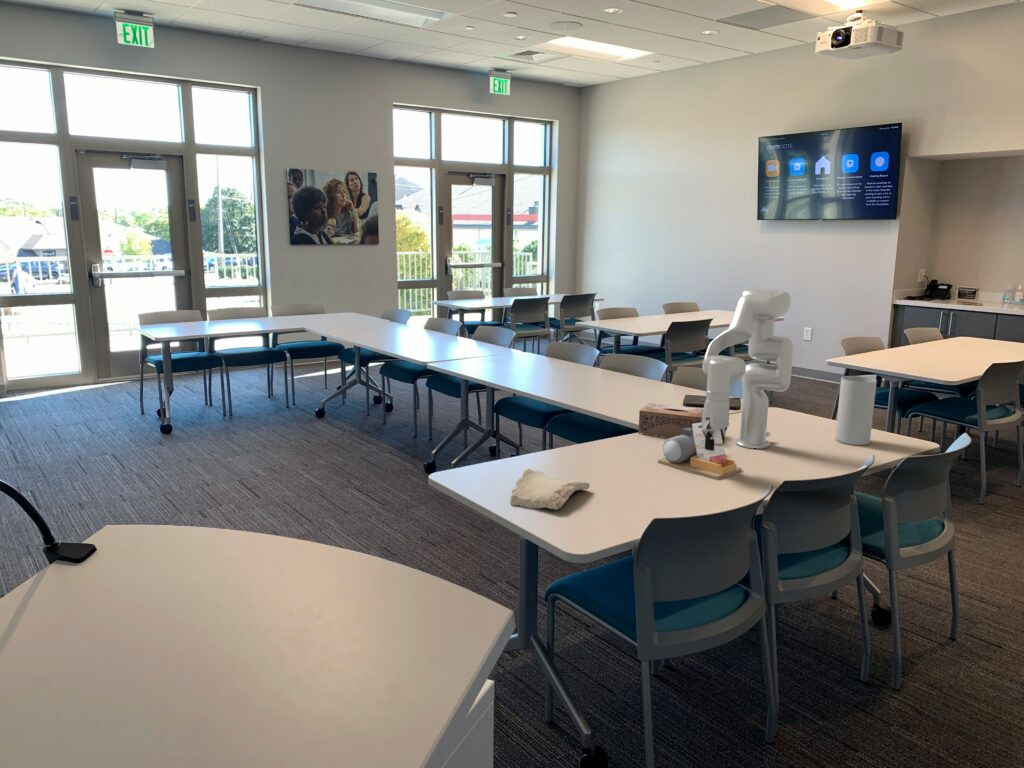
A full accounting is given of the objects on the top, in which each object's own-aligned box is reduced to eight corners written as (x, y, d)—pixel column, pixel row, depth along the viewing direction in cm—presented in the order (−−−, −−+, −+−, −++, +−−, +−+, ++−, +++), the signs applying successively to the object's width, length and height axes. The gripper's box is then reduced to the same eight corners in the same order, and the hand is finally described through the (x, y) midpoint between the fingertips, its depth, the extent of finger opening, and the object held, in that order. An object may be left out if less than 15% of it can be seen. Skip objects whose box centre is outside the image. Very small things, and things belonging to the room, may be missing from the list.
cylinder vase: (861, 437, 303) (868, 376, 298) (875, 446, 291) (882, 382, 286) (830, 436, 303) (836, 375, 298) (842, 445, 291) (849, 381, 286)
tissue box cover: (710, 433, 306) (711, 409, 304) (702, 442, 293) (704, 417, 291) (648, 426, 317) (649, 403, 315) (638, 434, 304) (639, 410, 302)
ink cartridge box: (727, 462, 256) (719, 419, 257) (718, 464, 253) (710, 421, 254) (707, 463, 263) (699, 421, 264) (698, 466, 260) (690, 423, 261)
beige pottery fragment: (499, 506, 226) (560, 513, 216) (498, 482, 225) (558, 487, 215) (536, 485, 247) (593, 491, 237) (535, 463, 246) (592, 467, 236)
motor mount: (683, 454, 276) (685, 423, 274) (741, 470, 259) (744, 437, 256) (657, 462, 266) (659, 430, 264) (716, 479, 249) (719, 445, 246)
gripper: (722, 391, 262) (718, 441, 265) (693, 397, 250) (690, 450, 254) (741, 394, 256) (737, 446, 260) (713, 401, 245) (709, 455, 248)
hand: (714, 447), depth 257 cm, fingers closed on ink cartridge box, 5 cm apart
